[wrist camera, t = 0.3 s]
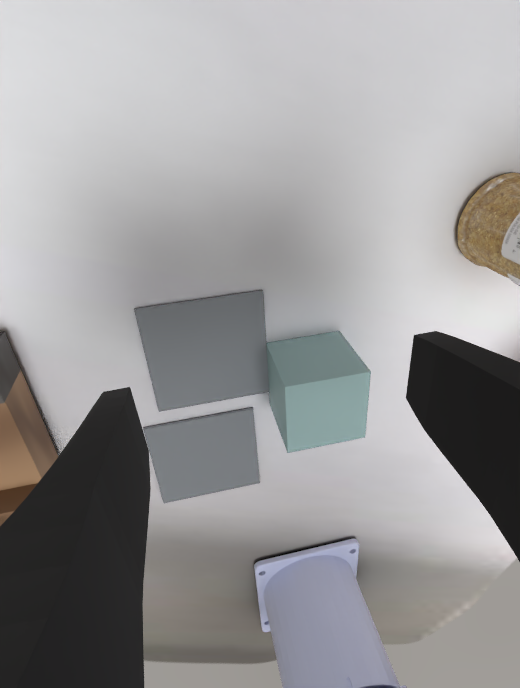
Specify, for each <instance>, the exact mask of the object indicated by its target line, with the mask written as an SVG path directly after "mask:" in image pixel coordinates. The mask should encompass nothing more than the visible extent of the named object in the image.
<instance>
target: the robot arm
mask: <svg viewBox="0 0 520 688" xmlns="http://www.w3.org/2000/svg"><path fill="white" fill-rule="evenodd" d="M406 399H407V401H408V402H409V404H410V406H411V408H412V410H413V411H414V413H415V415H416V417H417V418H418V420H419V422H420V423H421V425H422V427H423V428H424V430H425V431H426V433H427V434H428V435H429V437H430V438H431V439H432V440H433V442H434V443H435V444H436V446H437V447H438V448H439V450H440V451H441V452H442V453H443V455H444V456H445V457H446V458H447V460H448V461H449V462H450V464H451V465H452V466H453V467H454V469H455V470H456V471H457V472H458V474H459V475H460V476H461V477H462V479H463V480H464V481H465V483H466V484H467V485H468V486H469V488H470V489H471V490H472V491H473V493H474V494H475V495H476V496H477V498H478V499H479V500H480V502H481V503H482V504H483V506H484V507H485V509H486V510H487V511H488V513H489V514H490V516H491V517H492V519H493V520H494V522H495V523H496V525H497V526H498V528H499V530H500V531H501V533H502V534H503V536H504V537H505V539H506V540H507V542H508V544H509V545H510V547H511V548H512V550H513V551H514V553H515V555H516V556H517V558H518V560H519V561H520V362H518V361H515V360H512V359H510V358H507V357H505V356H502V355H499V354H497V353H494V352H492V351H489V350H487V349H484V348H482V347H479V346H477V345H474V344H471V343H469V342H466V341H464V340H461V339H458V338H456V337H453V336H450V335H447V334H444V333H440V332H437V331H434V332H429V333H423V334H418V335H414V339H413V347H412V355H411V363H410V371H409V378H408V386H407V394H406ZM149 501H150V468H149V450H148V447H147V443H146V440H145V437H144V433H143V430H142V427H141V423H140V420H139V416H138V413H137V410H136V406H135V403H134V400H133V396H132V393H131V389H130V387H128V388H123V389H117V390H112V391H106V392H103V393H102V394H101V396H100V397H99V399H98V400H97V401H96V403H95V404H94V406H93V407H92V409H91V410H90V412H89V413H88V415H87V417H86V418H85V420H84V421H83V422H82V424H81V425H80V427H79V428H78V430H77V431H76V433H75V434H74V436H73V437H72V438H71V440H70V441H69V443H68V444H67V445H66V447H65V448H64V450H63V451H62V452H61V454H60V455H59V457H58V458H57V459H56V461H55V462H54V463H53V465H52V466H51V467H50V468H49V470H48V471H47V472H46V474H45V475H44V476H43V477H42V479H41V480H40V481H39V482H38V484H37V485H36V486H35V487H34V489H33V490H32V491H31V492H30V494H29V495H28V496H27V497H26V498H25V500H24V501H23V502H22V503H21V504H20V505H19V506H18V508H17V509H16V510H15V511H14V512H13V513H12V514H11V515H10V516H9V517H8V518H7V520H6V521H5V522H4V523H3V524H2V525H1V526H0V688H144V661H143V609H142V601H143V578H144V565H145V553H146V540H147V528H148V515H149ZM358 554H359V543H358V541H357V540H356V539H349V540H345V541H341V542H336V543H332V544H328V545H324V546H320V547H315V548H311V549H307V550H303V551H299V552H294V553H290V554H286V555H282V556H278V557H274V558H269V559H265V560H261V561H258V562H257V563H256V564H255V565H254V570H255V578H256V587H257V595H258V603H259V611H260V620H261V627H262V631H263V632H270V631H271V634H272V639H273V644H274V648H275V653H276V658H277V662H278V667H279V671H280V676H281V681H282V686H283V688H407V687H406V686H405V685H403V686H400V685H399V682H398V680H397V677H396V675H395V672H394V670H393V668H392V665H391V663H390V660H389V658H388V656H387V653H386V651H385V648H384V646H383V643H382V641H381V638H380V636H379V634H378V631H377V629H376V626H375V624H374V621H373V619H372V617H371V614H370V612H369V609H368V607H367V604H366V602H365V600H364V597H363V595H362V592H361V590H360V587H359V585H358V583H357V580H356V575H357V564H358Z"/></svg>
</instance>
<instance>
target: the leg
mask: <svg viewBox="0 0 520 688" xmlns="http://www.w3.org/2000/svg"><path fill="white" fill-rule="evenodd" d="M57 458H58V455H57V452H56V450H55V448H54V445H53V443H52V441H51V438H50V436H49V434H48V431H47V429H46V427H45V424H44V422H43V420H42V417H41V415H40V413H39V411H38V408H37V406H36V404H35V401H34V399H33V397H32V394H31V392H30V390H29V387H28V385H27V383H26V380H25V378H24V376H23V373H22V371H21V369H20V366H19V364H18V362H17V359H16V357H15V355H14V352H13V350H12V348H11V345H10V343H9V341H8V339H7V336H6V334H5V332H4V331H3V332H0V526H1V525H2V524H3V523H4V522H5V521H6V520H7V518H8V517H9V516H10V515H11V514H12V513H13V512H14V511H15V510H16V509H17V508H18V506H19V505H20V504H21V503H22V502H23V501H24V500H25V498H26V497H27V496H28V495H29V494H30V492H31V491H32V490H33V489H34V487H35V486H36V485H37V484H38V482H39V481H40V480H41V479H42V477H43V476H44V475H45V474H46V472H47V471H48V470H49V468H50V467H51V466H52V465H53V463H54V462H55V461H56V459H57Z"/></svg>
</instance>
